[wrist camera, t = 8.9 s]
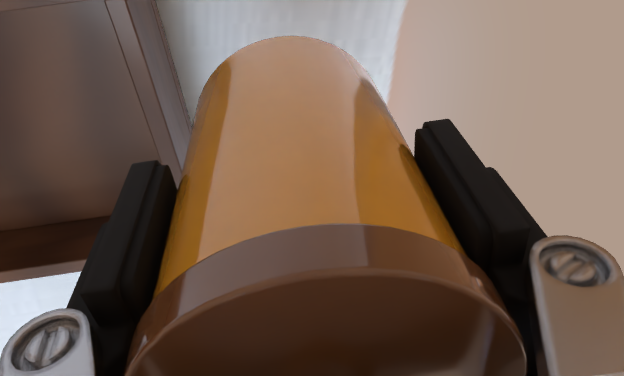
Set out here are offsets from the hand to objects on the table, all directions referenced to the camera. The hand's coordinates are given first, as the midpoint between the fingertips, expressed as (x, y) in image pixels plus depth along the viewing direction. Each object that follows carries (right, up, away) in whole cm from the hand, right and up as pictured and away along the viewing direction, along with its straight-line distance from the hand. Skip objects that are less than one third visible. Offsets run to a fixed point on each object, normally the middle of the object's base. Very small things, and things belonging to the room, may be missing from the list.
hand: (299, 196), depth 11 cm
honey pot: (0, +2, +3) cm, 4 cm away
